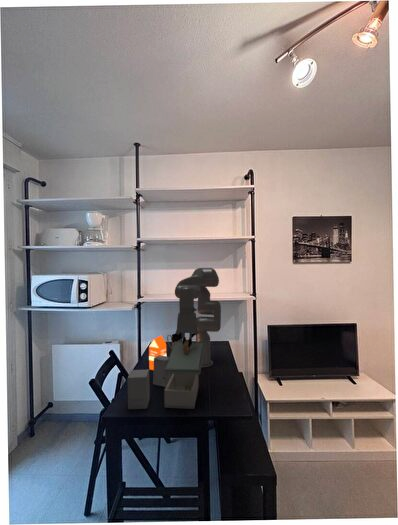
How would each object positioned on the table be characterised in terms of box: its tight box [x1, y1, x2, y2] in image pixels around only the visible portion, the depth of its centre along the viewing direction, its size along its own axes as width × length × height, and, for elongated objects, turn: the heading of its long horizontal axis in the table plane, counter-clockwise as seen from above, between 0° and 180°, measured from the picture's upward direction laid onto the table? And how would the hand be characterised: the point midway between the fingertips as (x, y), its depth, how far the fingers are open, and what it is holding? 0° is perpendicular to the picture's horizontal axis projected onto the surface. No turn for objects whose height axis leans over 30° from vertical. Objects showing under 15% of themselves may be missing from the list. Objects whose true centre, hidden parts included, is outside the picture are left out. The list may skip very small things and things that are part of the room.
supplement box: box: [127, 369, 151, 410], centre depth 122 cm, size 9×9×15 cm
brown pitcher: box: [166, 333, 183, 350], centre depth 187 cm, size 9×14×15 cm, turn 53°
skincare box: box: [152, 355, 171, 388], centre depth 142 cm, size 8×6×15 cm
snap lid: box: [165, 339, 204, 376], centre depth 126 cm, size 22×16×7 cm
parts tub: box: [164, 374, 200, 410], centre depth 128 cm, size 20×14×8 cm
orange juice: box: [148, 335, 168, 371], centre depth 164 cm, size 8×9×20 cm
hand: (187, 345), depth 131 cm, fingers closed on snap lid
